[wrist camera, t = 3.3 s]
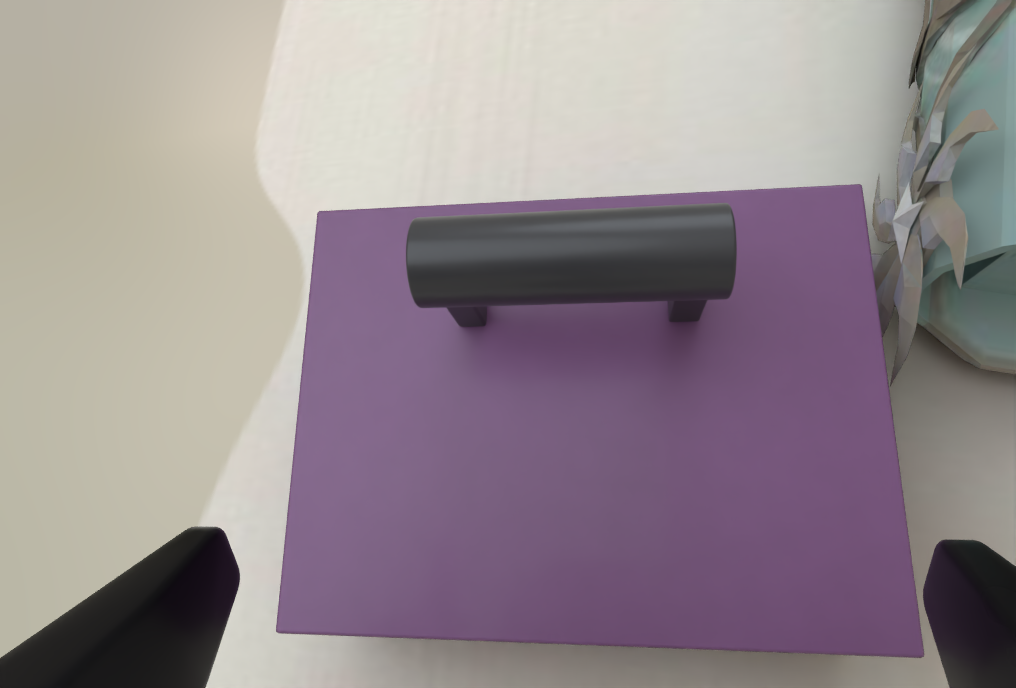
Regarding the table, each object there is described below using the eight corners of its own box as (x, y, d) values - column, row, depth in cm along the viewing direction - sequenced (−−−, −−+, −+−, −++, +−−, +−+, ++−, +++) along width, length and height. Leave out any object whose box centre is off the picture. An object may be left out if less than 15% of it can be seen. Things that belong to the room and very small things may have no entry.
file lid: (327, 223, 19) (235, 118, 14) (851, 198, 17) (943, 68, 12) (289, 628, 16) (158, 665, 12) (909, 652, 14) (1057, 707, 10)
